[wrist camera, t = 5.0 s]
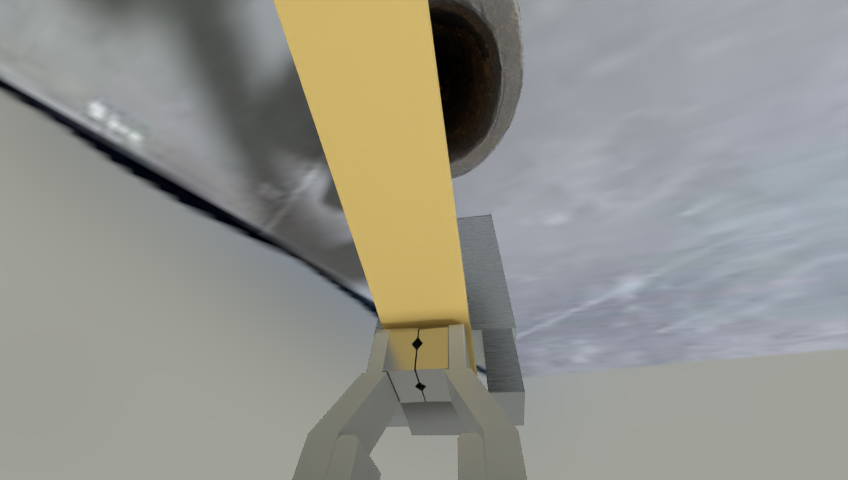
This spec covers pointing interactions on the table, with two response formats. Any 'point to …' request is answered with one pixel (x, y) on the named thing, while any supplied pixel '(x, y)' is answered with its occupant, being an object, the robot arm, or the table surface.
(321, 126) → the yellow bar
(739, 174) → the table surface
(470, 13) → the pipe
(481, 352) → the stop block
